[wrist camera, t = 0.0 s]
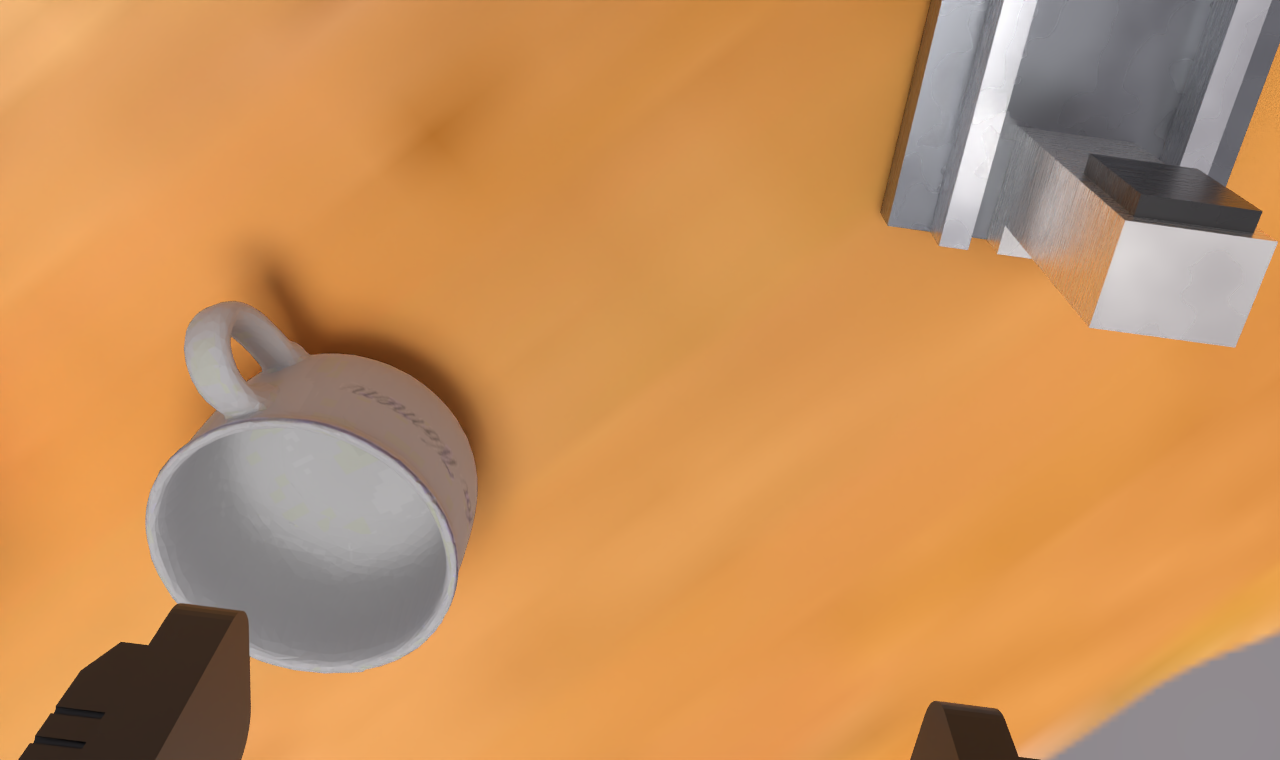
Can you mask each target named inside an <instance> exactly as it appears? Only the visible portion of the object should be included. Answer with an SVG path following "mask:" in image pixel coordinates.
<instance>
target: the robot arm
mask: <svg viewBox="0 0 1280 760" xmlns="http://www.w3.org/2000/svg"><path fill="white" fill-rule="evenodd" d="M250 714H251V700H250V653H249V622H248V617H247V614H246V613H245V612H244V611H241V610H233V609H225V608H217V607H209V606H201V605H193V604H186V603H179V604H177V605H175V606H174V607H173V608H172V610H171V611H170V613H169V614H168V616H167V617H166V619H165V620H164V622H163V623H162V625H161V627H160V628H159V630H158V631H157V633H156V634H155V636H154V637H153V639H152V641H151V642H150V644H149V645H141V644H133V643H125V642H120V643H119V644H118V645H116V646H115V647H113V648H112V649H111V650H109V651H108V652H106V653H105V654H104V655H102V656H101V657H99V658H98V659H97V660H95V661H94V662H92V663H91V664H89V665H88V666H87V667H85V668H84V669H82V670H81V671H80V673H79V674H78V675H77V677H76V678H75V680H74V681H73V683H72V684H71V685H70V687H69V688H68V690H67V691H66V693H65V694H64V695H63V697H62V698H61V700H60V701H59V703H58V704H57V705H56V710H55V712H54V714H52V713H51V714H50V715H49V717H48V718H47V720H46V721H45V722H44V724H43V725H42V727H41V728H40V730H39V731H38V732H37V734H36V735H35V741H34V743H30V744H29V745H28V747H27V748H26V750H25V751H24V752H23V754H22V755H21V757H20V758H19V760H241V758H242V755H243V752H244V749H245V745H246V741H247V736H248V731H249V724H250ZM910 760H1039V759H1031V758H1023V757H1018V754H1017V751H1016V749H1015V746H1014V743H1013V740H1012V738H1011V735H1010V732H1009V730H1008V727H1007V724H1006V721H1005V719H1004V717H1003V715H1002V713H1001V712H1000V711H999V710H998V709H995V708H988V707H980V706H972V705H964V704H956V703H948V702H940V701H934V702H932V703H931V704H930V705H929V707H928V709H927V711H926V714H925V716H924V719H923V722H922V725H921V729H920V732H919V735H918V738H917V741H916V744H915V747H914V750H913V753H912V756H911V759H910Z"/></svg>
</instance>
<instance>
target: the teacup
mask: <svg viewBox="0 0 1280 760" xmlns="http://www.w3.org/2000/svg"><path fill="white" fill-rule="evenodd" d="M231 337H233V338H234V339H235V340H236V341H237V342H239V343H240V344H241V345H242V346H243V347H244V348H245V349H246V350H247V351H248V352H249V353H250V354H251V355H252V356H253V357H254V359H255V360H256V361H257V362H258V363H259V365H260V366H261V367H262V372H260V373H259V374H257V375H256V376H254V377H253V378H251V379H250V380H248V381H247V382H246V381H245V380H244V379H243V377H242V376H241V374H240V372H239V371H238V369H237V367H236V364H235V361H234V358H233V354H232V350H231V345H230V344H231ZM184 352H185V360H186V364H187V368H188V371H189V374H190V377H191V379H192V381H193V383H194V385H195V387H196V388H197V390H198V392H199V393H200V395H201V396H202V397H203V398H204V399H205V401H206V402H208V403H209V404H210V405H211V406H212V407H214V408H215V409H216V411H215V412H214V413H213V415H212V416H211V417H210V418H209V419H208V420H207V421H206V422H205V424H204V425H203V426H202V427H201V428H200V429H199V430H198V432H197V433H196V434H195V435H194V436H193V438H192V439H191V440H190V441H189V443H187V444H186V445H185V446H183V447H182V448H180V449H179V450H178V451H177V452H176V453H175V454H174V455H173V456H172V457H171V458H170V459H169V460H168V461H167V463H166V464H165V465H164V466H163V468H162V469H161V470H160V472H159V474H158V476H157V478H156V480H155V482H154V485H153V487H152V489H151V492H150V495H149V498H148V503H147V508H146V534H147V540H148V544H149V549H150V554H151V559H152V561H153V563H154V566H155V568H156V570H157V573H158V575H159V576H160V578H161V580H162V582H163V583H164V585H165V587H166V588H167V590H168V591H169V593H170V594H171V596H172V598H173V599H174V600H175V601H176V602H177V603H178V604H179V603H186V604H193V605H201V606H209V607H217V608H225V609H233V610H241V611H244V612H245V613H246V614H247V617H248V622H249V653H250V657H252V658H255V659H257V660H260V661H262V662H266V663H269V664H272V665H276V666H280V667H284V668H288V669H293V670H299V671H308V672H317V673H352V672H363V671H364V670H366V669H370V668H375V667H379V666H382V665H385V664H388V663H390V662H393V661H396V660H398V659H400V658H401V657H403V656H405V655H407V654H409V653H410V652H412V651H413V650H415V649H417V648H418V647H419V646H421V645H422V644H423V643H424V642H425V641H426V640H427V639H428V638H429V637H430V636H431V635H432V634H433V633H434V632H435V631H436V629H437V628H438V626H439V625H440V624H441V623H442V620H443V618H444V616H445V614H446V613H447V611H448V609H449V607H450V605H451V603H452V600H453V597H454V595H455V591H456V586H457V580H458V572H459V569H460V566H461V563H462V560H463V557H464V554H465V550H466V547H467V544H468V540H469V537H470V533H471V530H472V525H473V521H474V516H475V511H476V504H477V488H478V487H477V473H476V466H475V461H474V456H473V453H472V450H471V447H470V444H469V442H468V439H467V437H466V435H465V433H464V431H463V429H462V428H461V426H460V424H459V422H458V420H457V419H456V417H455V416H454V415H453V413H452V412H451V411H450V409H449V408H448V407H447V406H446V405H445V404H444V403H443V402H442V400H441V399H440V398H439V397H438V396H437V395H436V394H435V393H434V392H432V391H431V390H430V389H429V388H427V387H426V386H425V385H424V384H422V383H421V382H420V381H418V380H417V379H415V378H414V377H412V376H411V375H409V374H407V373H405V372H403V371H401V370H399V369H397V368H395V367H393V366H391V365H388V364H386V363H383V362H380V361H377V360H374V359H370V358H366V357H361V356H357V355H349V354H315V355H310V354H309V353H307V352H306V351H305V350H304V348H303V347H301V346H300V345H299V344H297V343H296V342H292V341H289V339H288V338H287V337H286V336H285V335H284V334H283V333H282V332H281V331H280V330H279V329H278V328H277V327H276V326H275V325H274V324H273V323H272V322H271V321H270V320H269V319H268V318H267V317H266V316H265V315H264V314H262V313H261V312H260V311H258V310H257V309H255V308H254V307H252V306H250V305H247V304H245V303H242V302H237V301H229V302H221V303H219V304H216V305H213V306H210V307H208V308H205V309H204V310H202V311H200V312H199V313H198V314H197V315H196V316H195V317H194V318H193V320H192V321H191V322H190V324H189V326H188V328H187V331H186V337H185V345H184Z"/></svg>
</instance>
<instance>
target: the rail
mask: <svg viewBox="0 0 1280 760" xmlns="http://www.w3.org/2000/svg"><path fill="white" fill-rule="evenodd" d="M1279 43H1280V0H931V3H930V7H929V11H928V15H927V19H926V24H925V28H924V32H923V36H922V40H921V45H920V49H919V53H918V57H917V61H916V66H915V70H914V74H913V78H912V83H911V87H910V91H909V95H908V99H907V104H906V108H905V112H904V116H903V120H902V125H901V129H900V133H899V137H898V141H897V146H896V150H895V154H894V158H893V162H892V167H891V171H890V175H889V179H888V183H887V188H886V192H885V196H884V200H883V204H882V209H881V214H882V216H883V218H884V220H885V222H886V224H887V225H888V226H893V227H901V228H908V229H915V230H922V231H930V233H931V234H932V236H933V237H934V239H935V240H936V242H937V244H938V245H939V246H943V247H950V248H958V249H965V250H968V248H969V245H970V241H971V237H973V238H980V239H986V240H987V241H988V243H989V244H990V245H991V247H992V248H993V249H994V251H995V252H996V253H997V254H1001V255H1008V256H1016V257H1023V258H1030V259H1033V260H1034V261H1035V263H1036V264H1037V265H1038V266H1039V267H1040V269H1041V270H1042V271H1043V272H1044V274H1045V275H1046V276H1047V277H1048V278H1049V280H1050V281H1051V282H1052V283H1053V284H1054V286H1055V287H1056V288H1057V289H1058V291H1059V292H1060V293H1061V294H1062V295H1063V297H1064V298H1065V299H1066V300H1067V301H1068V303H1069V304H1070V305H1071V306H1072V308H1073V309H1074V310H1075V311H1076V312H1077V314H1078V315H1079V316H1080V317H1081V318H1082V320H1083V321H1084V322H1085V323H1086V324H1087V326H1088V327H1089V328H1096V329H1103V330H1111V331H1118V332H1126V333H1133V334H1140V335H1148V336H1155V337H1162V338H1170V339H1177V340H1184V341H1192V342H1199V343H1206V344H1214V345H1221V346H1228V347H1236V344H1237V342H1238V339H1239V337H1240V334H1241V332H1242V329H1243V327H1244V324H1245V322H1246V319H1247V317H1248V314H1249V312H1250V309H1251V307H1252V305H1253V302H1254V300H1255V297H1256V295H1257V292H1258V290H1259V287H1260V285H1261V282H1262V280H1263V277H1264V275H1265V272H1266V270H1267V268H1268V265H1269V263H1270V260H1271V258H1272V255H1273V253H1274V250H1275V248H1276V245H1277V243H1278V242H1277V241H1276V240H1275V239H1273V238H1272V237H1270V236H1269V235H1267V234H1266V233H1264V232H1263V231H1262V230H1260V229H1259V228H1257V227H1256V226H1257V224H1258V221H1259V219H1260V216H1261V214H1262V211H1261V210H1260V209H1258V208H1257V207H1255V206H1254V205H1252V204H1251V203H1249V202H1248V201H1246V200H1244V199H1243V198H1241V197H1240V196H1238V195H1237V194H1235V193H1234V192H1232V191H1231V190H1229V189H1228V188H1226V184H1227V182H1228V179H1229V176H1230V174H1231V171H1232V168H1233V166H1234V163H1235V160H1236V158H1237V155H1238V152H1239V150H1240V147H1241V144H1242V142H1243V139H1244V136H1245V134H1246V131H1247V128H1248V126H1249V123H1250V120H1251V118H1252V115H1253V112H1254V110H1255V107H1256V104H1257V102H1258V99H1259V96H1260V94H1261V91H1262V88H1263V86H1264V83H1265V80H1266V78H1267V75H1268V72H1269V70H1270V67H1271V64H1272V62H1273V59H1274V56H1275V54H1276V51H1277V48H1278V46H1279Z"/></svg>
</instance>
